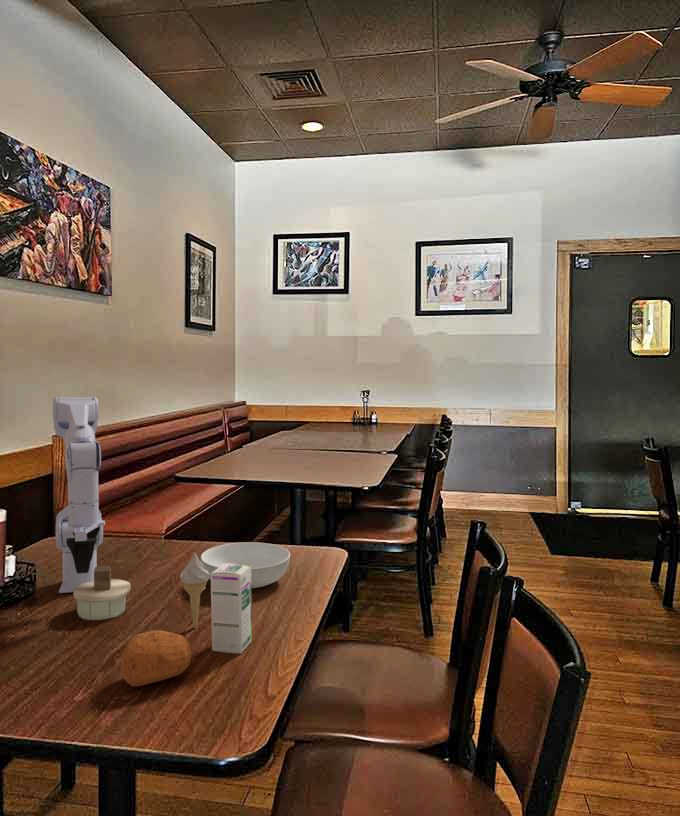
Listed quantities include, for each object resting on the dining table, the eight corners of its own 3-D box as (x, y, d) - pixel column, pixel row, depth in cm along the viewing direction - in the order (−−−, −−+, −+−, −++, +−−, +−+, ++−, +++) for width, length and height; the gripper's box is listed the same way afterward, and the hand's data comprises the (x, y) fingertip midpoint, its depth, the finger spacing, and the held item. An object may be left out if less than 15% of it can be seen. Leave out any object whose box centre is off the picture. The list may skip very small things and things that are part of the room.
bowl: (80, 605, 136) (80, 587, 135) (125, 602, 138) (125, 583, 138) (75, 622, 127) (75, 602, 127) (123, 617, 129) (123, 598, 129)
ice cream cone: (215, 624, 127) (214, 549, 126) (199, 635, 121) (199, 557, 120) (190, 620, 129) (190, 546, 128) (174, 631, 123) (174, 554, 122)
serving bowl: (182, 590, 146) (182, 560, 145) (231, 564, 165) (231, 538, 165) (263, 604, 138) (263, 572, 138) (304, 575, 157) (305, 547, 157)
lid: (77, 585, 136) (76, 562, 136) (131, 581, 139) (131, 559, 139) (70, 604, 126) (70, 579, 125) (129, 599, 129) (129, 575, 128)
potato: (120, 670, 107) (120, 626, 107) (189, 660, 111) (189, 618, 111) (121, 697, 99) (121, 649, 98) (196, 686, 102) (196, 640, 102)
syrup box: (241, 654, 114) (241, 573, 113) (210, 651, 115) (210, 571, 114) (252, 641, 119) (252, 564, 118) (222, 638, 120) (222, 561, 119)
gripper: (102, 507, 125) (102, 576, 126) (106, 493, 139) (107, 555, 140) (62, 509, 123) (64, 579, 124) (71, 494, 137) (72, 557, 138)
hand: (84, 566), depth 132 cm, fingers open, 7 cm apart
